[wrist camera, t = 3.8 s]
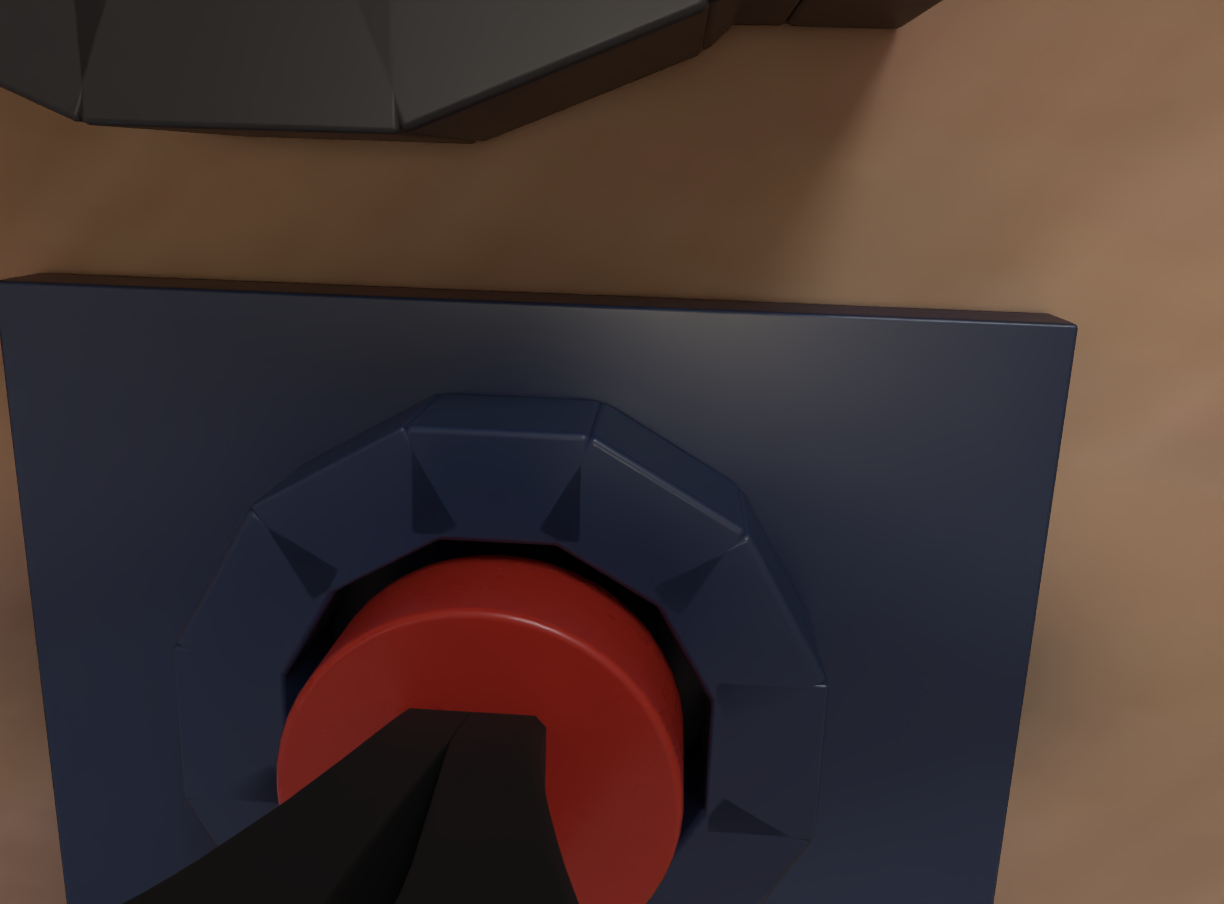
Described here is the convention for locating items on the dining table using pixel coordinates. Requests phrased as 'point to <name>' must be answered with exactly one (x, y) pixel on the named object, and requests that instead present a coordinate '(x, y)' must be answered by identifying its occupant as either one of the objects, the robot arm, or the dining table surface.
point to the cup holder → (367, 59)
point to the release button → (518, 702)
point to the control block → (543, 547)
